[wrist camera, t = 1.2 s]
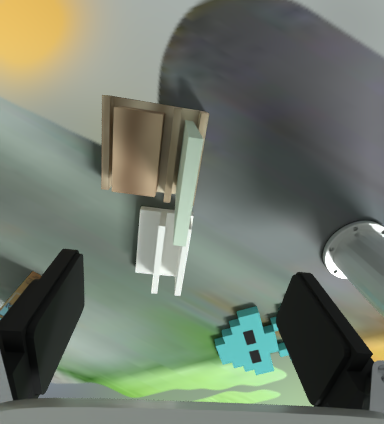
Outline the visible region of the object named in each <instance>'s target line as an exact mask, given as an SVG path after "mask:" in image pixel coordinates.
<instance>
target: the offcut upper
mask: <svg viewBox="0 0 384 424" xmlns="http://www.w3.org/2000/svg"><path fill="white" fill-rule="evenodd" d="M163 122H164V114H162V113H156V112H150V111H144V110H138V109H131V108H125V107H119V106H118V107H114V122H113V162H112V192H119V193H127V194H135V195H143V196H150V197H155V195H156V191H157V181H158V171H159V161H160V152H161V142H162V132H163Z"/></svg>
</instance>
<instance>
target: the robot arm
mask: <svg viewBox="0 0 384 424" xmlns="http://www.w3.org/2000/svg"><path fill="white" fill-rule="evenodd" d="M323 262H324V264H325V266H326V268H327V269H328V270H329V271H330V272H331V273H332V274H333V275H335V276H337V277H340V278H345V279H348V280H349V281H350V282H351V283H352V284H353V285H354V286H355V287H356V289H357V290H358V291H359V292H360V293H361V294H362V295H363V296H364V297H365V298H366V299H367V300H368V301H369V303H370V304H371V305H372V306H373V307H374V308H375V309H376V310H377V311H378V312H379V313H380V314H381V316H382V317H383V318H384V227H383V226H382V225H380V224H378V223H376V222H373V221H358V222H353V223H351V224H348V225H346V226H344V227H342V228H341V229H339V230H338V231H337V232H335V233H334V234H333V235H332V236H331V238H330V239H329V240H328V242H327V243H326V245H325V248H324V251H323ZM83 308H84V270H83V254H79V251H78V250H72V249H62V250H61V252H60V253H59V254H58V256H57V257H56V258H55V259H54V261H53V262H52V263H51V265H50V266H49V267H48V269H47V270H46V271H45V272H44V274H43V275H42V276H41V278H40V279H34V280H33V281H32V282H31V283H30V284H29V285H28V286H27V288H26V289H25V290H24V291H23V293H22V294H21V295H20V296H19V298H18V299H17V300H16V301H15V302H14V304H13V305H12V306H11V307H10V309H9V310H8V311H7V312H6V314H5V315H4V316H3V317H2V319H1V320H0V424H384V361H376V362H374V361H373V360H372V359H371V356H372V355H373V353H372V352H371V351H370V350H369V348H368V347H367V346H366V344H365V343H364V342H363V340H362V339H361V338H360V336H359V335H358V334H357V332H356V331H355V330H354V328H353V327H352V326H351V324H350V323H349V322H348V320H347V319H346V318H345V317H344V315H343V314H342V313H341V311H340V310H339V309H338V307H337V306H336V305H335V303H334V302H333V301H332V299H331V298H330V297H329V295H328V294H327V293H326V291H325V290H324V289H323V288H322V286H321V285H320V284H319V282H318V281H317V280H316V278H315V277H314V276H313V275H312V274H311V273H303V272H298V273H296V275H293V276H292V278H291V281H290V283H289V286H288V289H287V291H286V294H285V296H284V299H283V301H282V304H281V306H280V309H279V311H278V314H277V316H276V325H277V328H278V330H279V332H280V335H281V337H282V339H283V342H284V344H285V346H286V349H287V351H288V353H289V356H290V358H291V360H292V363H293V365H294V367H295V370H296V372H297V374H298V377H299V379H300V381H301V383H302V386H303V388H304V391H305V393H306V395H307V398H308V400H309V402H310V403H311V404H312V405H314V407H312V406H290V405H289V406H288V405H267V404H265V405H264V404H243V403H218V402H191V401H163V400H132V399H98V398H97V399H96V398H95V399H94V398H38V397H39V395H40V394H42V395H43V394H44V393H45V392H46V391H47V389H48V386H49V384H50V382H51V380H52V378H53V375H54V373H55V371H56V369H57V367H58V364H59V362H60V360H61V358H62V355H63V353H64V351H65V349H66V347H67V344H68V342H69V340H70V338H71V336H72V333H73V331H74V329H75V327H76V324H77V322H78V320H79V318H80V316H81V313H82V311H83Z"/></svg>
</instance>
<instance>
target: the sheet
mask: <svg viewBox="0 0 384 424" xmlns="http://www.w3.org/2000/svg"><path fill="white" fill-rule="evenodd" d="M203 140H204V139H203V137H202V136H201V134H200V132H199V130H198V129H197V127H196V125H195V123H194V122H193V121H189V120H185V124H184V132H183V139H182V146H181V154H180V161H179V169H178V176H177V184H176V200H175V218H174V237H173V245H176V246H185V247H186V241H187V235H188V229H189V223H190V218H191V212H192V206H193V200H194V194H195V188H196V182H197V176H198V170H199V164H200V158H201V152H202V146H203Z"/></svg>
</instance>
